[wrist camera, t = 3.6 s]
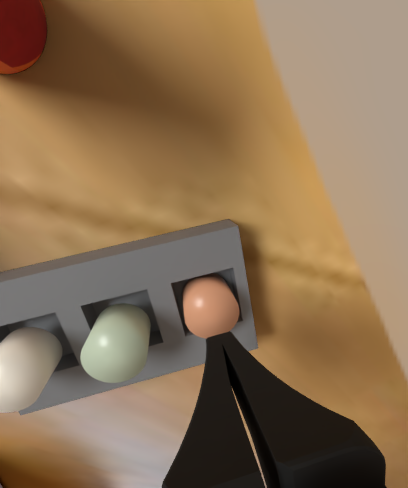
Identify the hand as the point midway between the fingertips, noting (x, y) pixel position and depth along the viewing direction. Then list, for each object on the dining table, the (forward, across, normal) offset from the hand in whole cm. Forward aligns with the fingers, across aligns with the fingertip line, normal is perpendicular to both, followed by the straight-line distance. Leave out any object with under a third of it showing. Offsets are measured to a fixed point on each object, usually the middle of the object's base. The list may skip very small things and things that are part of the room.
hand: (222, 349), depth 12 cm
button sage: (+4, +6, 0) cm, 7 cm away
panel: (+7, +6, 0) cm, 9 cm away
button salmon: (+6, 0, 0) cm, 6 cm away
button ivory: (+4, +12, 0) cm, 13 cm away
